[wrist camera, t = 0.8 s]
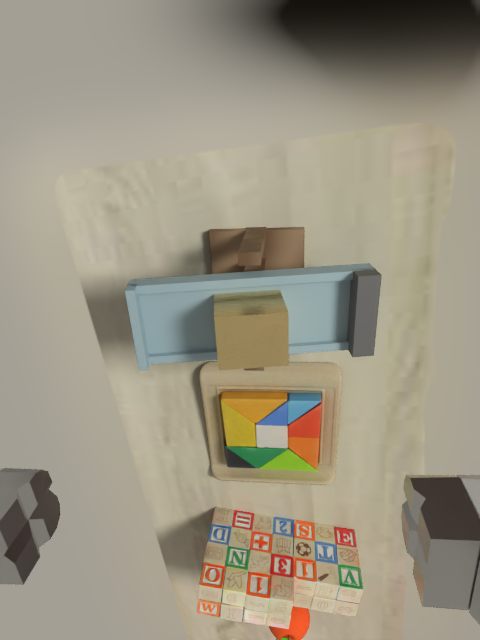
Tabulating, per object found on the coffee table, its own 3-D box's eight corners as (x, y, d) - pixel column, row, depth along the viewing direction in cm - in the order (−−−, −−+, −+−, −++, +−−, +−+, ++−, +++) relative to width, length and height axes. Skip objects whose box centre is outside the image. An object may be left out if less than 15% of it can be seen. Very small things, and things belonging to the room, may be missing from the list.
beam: (369, 263, 40) (381, 275, 37) (362, 339, 43) (373, 355, 40) (130, 279, 39) (123, 292, 36) (143, 355, 42) (138, 373, 40)
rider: (279, 289, 39) (288, 312, 34) (280, 338, 41) (288, 365, 37) (213, 294, 39) (214, 317, 34) (218, 342, 41) (218, 370, 36)
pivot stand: (304, 226, 45) (306, 251, 37) (302, 329, 50) (304, 371, 42) (210, 228, 46) (193, 253, 38) (218, 329, 51) (204, 369, 43)
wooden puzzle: (212, 469, 63) (208, 488, 59) (200, 358, 54) (194, 373, 51) (334, 475, 60) (337, 495, 57) (341, 360, 52) (344, 375, 49)
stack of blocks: (355, 527, 64) (368, 614, 53) (347, 555, 67) (357, 642, 56) (214, 505, 65) (197, 586, 54) (211, 533, 68) (195, 615, 57)
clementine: (295, 615, 75) (296, 662, 68) (259, 602, 74) (256, 648, 68) (316, 590, 71) (318, 637, 65) (278, 576, 71) (276, 622, 64)
